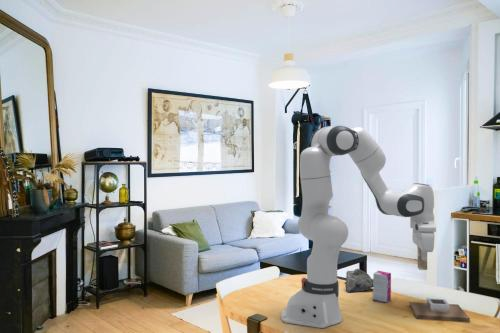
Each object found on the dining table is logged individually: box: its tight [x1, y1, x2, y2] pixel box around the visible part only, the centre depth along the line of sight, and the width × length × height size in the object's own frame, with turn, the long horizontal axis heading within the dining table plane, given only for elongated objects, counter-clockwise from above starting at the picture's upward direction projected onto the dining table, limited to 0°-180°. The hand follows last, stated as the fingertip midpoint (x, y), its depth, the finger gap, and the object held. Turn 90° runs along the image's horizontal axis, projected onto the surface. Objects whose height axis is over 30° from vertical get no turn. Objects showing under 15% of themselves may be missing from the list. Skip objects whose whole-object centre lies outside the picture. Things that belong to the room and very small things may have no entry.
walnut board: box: [409, 301, 471, 323], centre depth 156 cm, size 18×14×2 cm
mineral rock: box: [345, 268, 373, 293], centre depth 184 cm, size 13×11×10 cm
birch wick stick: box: [416, 245, 428, 271], centre depth 164 cm, size 3×3×10 cm
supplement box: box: [372, 270, 392, 304], centre depth 171 cm, size 6×6×12 cm
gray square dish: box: [426, 297, 450, 313], centre depth 156 cm, size 7×7×3 cm
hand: (422, 258), depth 164 cm, fingers closed on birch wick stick, 3 cm apart
